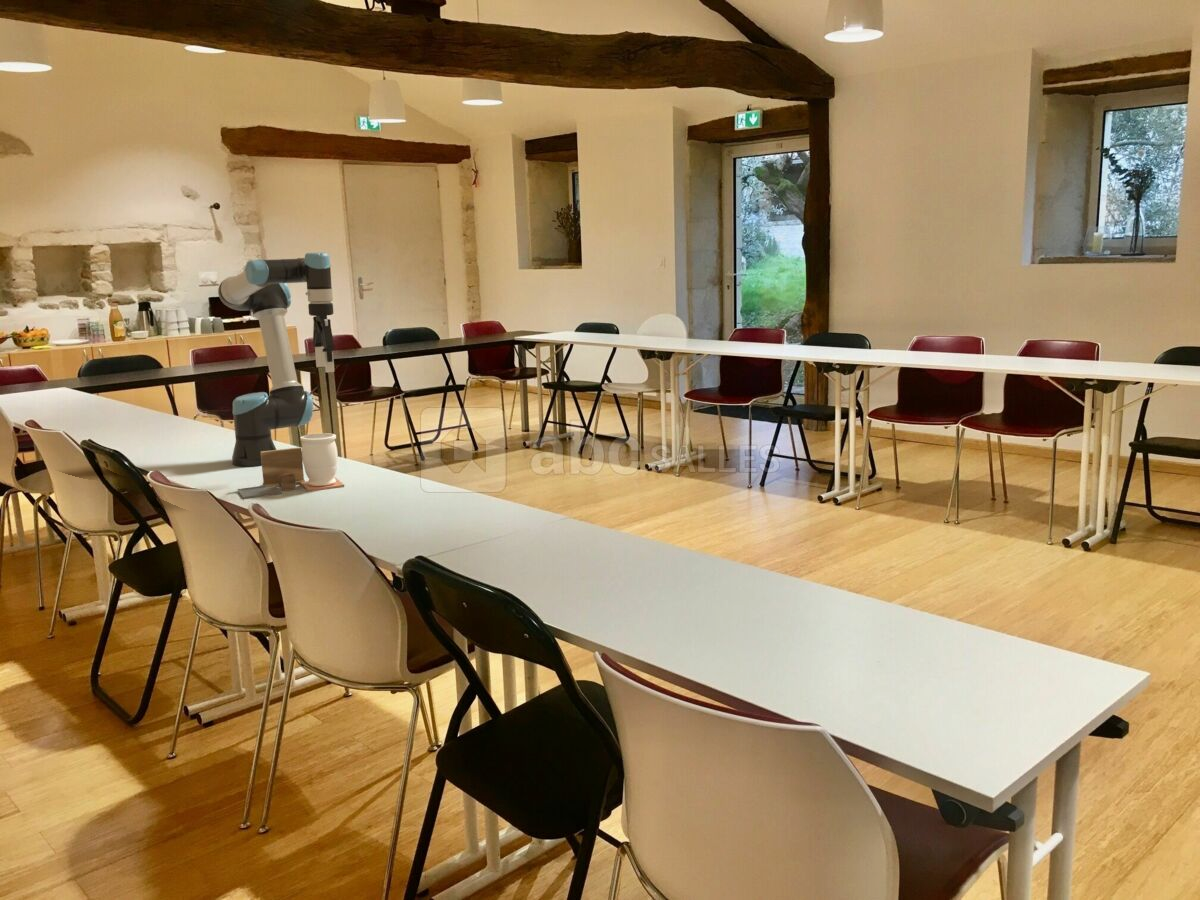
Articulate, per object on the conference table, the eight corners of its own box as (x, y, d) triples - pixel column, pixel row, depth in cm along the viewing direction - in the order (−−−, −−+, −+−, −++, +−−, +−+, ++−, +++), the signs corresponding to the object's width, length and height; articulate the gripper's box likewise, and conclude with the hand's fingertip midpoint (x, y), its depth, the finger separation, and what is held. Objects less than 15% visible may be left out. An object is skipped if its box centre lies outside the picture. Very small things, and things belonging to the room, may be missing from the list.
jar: (344, 479, 313) (340, 432, 310) (333, 487, 303) (329, 439, 300) (311, 479, 314) (307, 432, 311) (299, 487, 304) (295, 439, 301)
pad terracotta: (300, 484, 311) (300, 482, 311) (335, 479, 316) (335, 477, 316) (308, 491, 301) (308, 489, 301) (344, 486, 306) (344, 484, 306)
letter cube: (280, 487, 307) (278, 473, 306) (293, 486, 308) (292, 472, 307) (282, 490, 303) (281, 476, 302) (295, 488, 305) (294, 474, 304)
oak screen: (262, 485, 310) (259, 450, 308) (301, 480, 316) (299, 446, 314) (265, 488, 306) (262, 453, 304) (305, 483, 312) (302, 449, 309)
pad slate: (237, 491, 304) (237, 489, 304) (274, 486, 309) (274, 484, 309) (243, 498, 294) (243, 496, 294) (281, 493, 299) (281, 491, 299)
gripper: (300, 300, 323) (305, 365, 327) (316, 305, 301) (321, 375, 306) (324, 299, 326) (328, 363, 331) (341, 304, 304) (346, 373, 309)
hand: (325, 369), depth 318 cm, fingers open, 13 cm apart
